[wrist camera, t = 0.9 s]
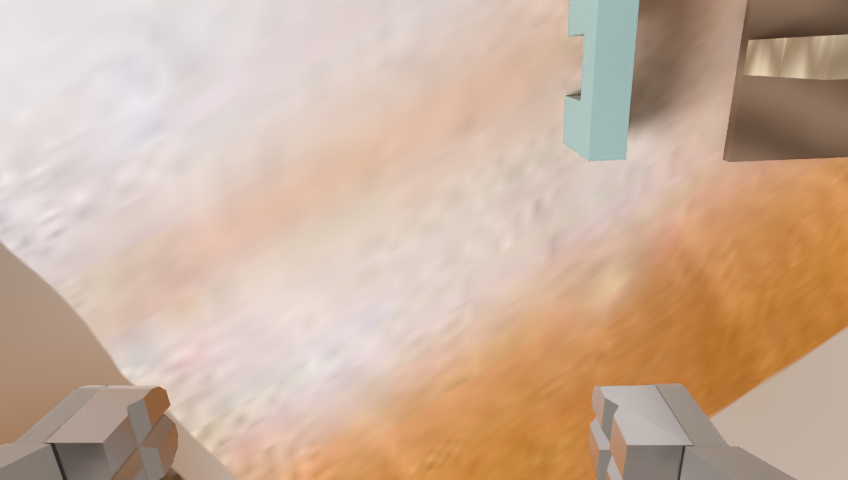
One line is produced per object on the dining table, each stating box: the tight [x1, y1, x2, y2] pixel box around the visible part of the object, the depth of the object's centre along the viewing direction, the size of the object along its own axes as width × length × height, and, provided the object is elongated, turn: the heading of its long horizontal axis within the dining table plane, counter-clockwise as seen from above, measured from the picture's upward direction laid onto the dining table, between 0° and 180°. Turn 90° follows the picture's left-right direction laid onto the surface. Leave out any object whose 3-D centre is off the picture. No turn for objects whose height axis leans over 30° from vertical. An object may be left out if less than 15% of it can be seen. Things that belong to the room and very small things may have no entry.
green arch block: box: [563, 0, 639, 161], centre depth 36 cm, size 12×2×8 cm, turn 3°
